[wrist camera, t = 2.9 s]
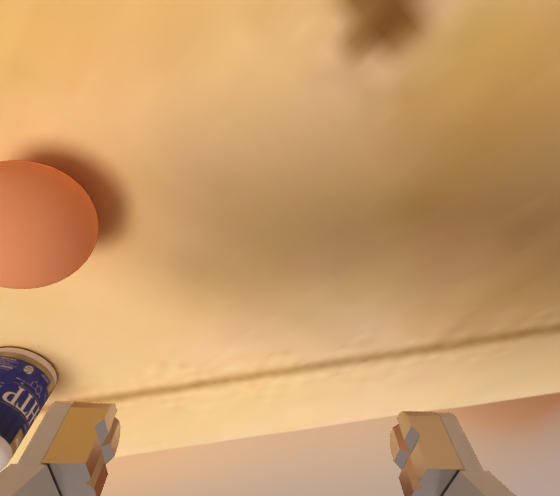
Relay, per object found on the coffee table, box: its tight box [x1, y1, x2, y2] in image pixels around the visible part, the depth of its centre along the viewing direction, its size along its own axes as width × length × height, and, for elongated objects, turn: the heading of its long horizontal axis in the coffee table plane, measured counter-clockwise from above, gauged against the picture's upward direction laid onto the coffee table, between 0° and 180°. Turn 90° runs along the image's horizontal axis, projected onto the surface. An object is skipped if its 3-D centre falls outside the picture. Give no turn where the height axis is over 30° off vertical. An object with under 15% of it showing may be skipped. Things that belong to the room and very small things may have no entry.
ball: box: [0, 160, 98, 289], centre depth 17 cm, size 6×6×6 cm
